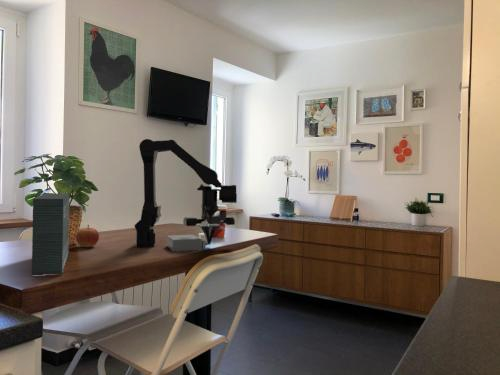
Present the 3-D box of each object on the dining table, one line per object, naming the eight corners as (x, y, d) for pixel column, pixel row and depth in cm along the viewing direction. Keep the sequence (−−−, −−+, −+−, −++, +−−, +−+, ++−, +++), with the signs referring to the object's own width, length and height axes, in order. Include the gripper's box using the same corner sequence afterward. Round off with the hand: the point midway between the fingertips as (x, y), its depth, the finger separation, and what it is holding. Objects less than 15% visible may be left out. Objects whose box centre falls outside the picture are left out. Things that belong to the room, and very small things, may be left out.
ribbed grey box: (44, 255, 130) (45, 193, 129) (68, 254, 132) (69, 193, 132) (31, 277, 103) (33, 198, 102) (62, 275, 105) (63, 198, 105)
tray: (176, 250, 143) (177, 242, 143) (170, 245, 153) (171, 237, 153) (206, 249, 147) (206, 241, 147) (198, 244, 157) (198, 236, 157)
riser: (201, 243, 161) (201, 234, 161) (198, 241, 164) (198, 233, 164) (210, 243, 162) (210, 234, 162) (207, 241, 166) (208, 233, 166)
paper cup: (225, 238, 176) (226, 206, 175) (208, 237, 176) (209, 205, 175) (227, 235, 183) (228, 205, 183) (210, 235, 184) (211, 204, 183)
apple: (85, 244, 151) (85, 223, 151) (103, 246, 149) (103, 224, 149) (70, 248, 143) (70, 225, 143) (89, 249, 141) (89, 226, 141)
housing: (172, 251, 142) (173, 240, 142) (167, 246, 153) (167, 235, 153) (201, 250, 146) (202, 239, 146) (194, 245, 157) (194, 234, 156)
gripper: (190, 204, 142) (189, 248, 142) (240, 203, 149) (239, 246, 149) (183, 202, 152) (182, 243, 152) (230, 201, 159) (229, 241, 159)
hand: (208, 243), depth 153 cm, fingers closed
